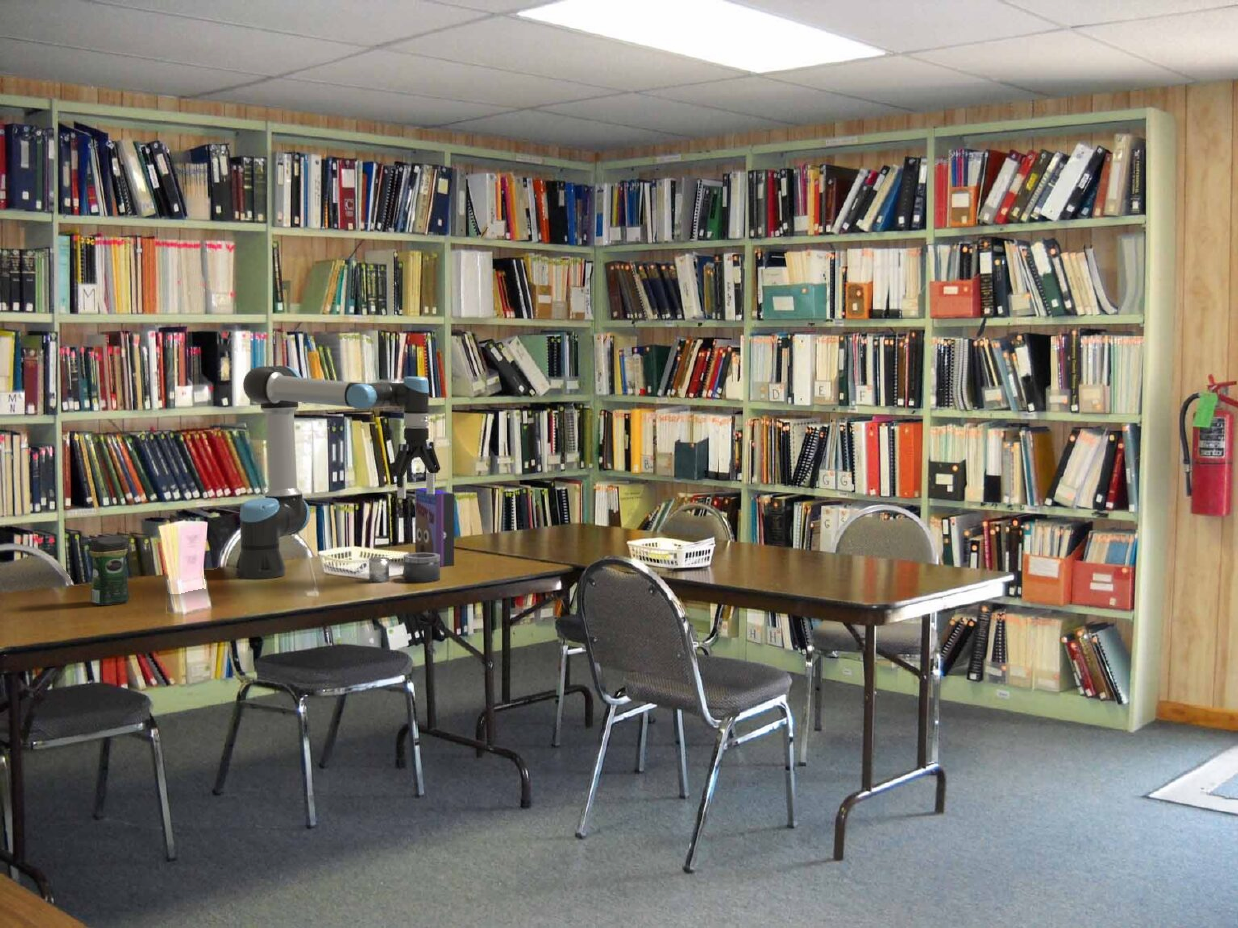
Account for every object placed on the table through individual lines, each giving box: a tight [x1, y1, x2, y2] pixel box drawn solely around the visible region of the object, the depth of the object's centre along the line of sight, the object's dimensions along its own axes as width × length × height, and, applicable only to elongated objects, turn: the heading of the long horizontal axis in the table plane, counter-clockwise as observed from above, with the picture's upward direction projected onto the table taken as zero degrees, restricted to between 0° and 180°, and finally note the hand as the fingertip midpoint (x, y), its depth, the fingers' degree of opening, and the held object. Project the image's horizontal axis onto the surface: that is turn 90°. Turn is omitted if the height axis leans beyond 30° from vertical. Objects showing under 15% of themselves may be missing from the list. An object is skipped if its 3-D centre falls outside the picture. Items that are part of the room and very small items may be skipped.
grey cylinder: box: [368, 556, 390, 584], centre depth 407 cm, size 6×6×7 cm
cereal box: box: [414, 487, 455, 568], centre depth 442 cm, size 17×5×24 cm, turn 37°
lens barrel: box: [403, 552, 441, 584], centre depth 411 cm, size 11×11×8 cm
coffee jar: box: [89, 535, 130, 606], centre depth 369 cm, size 10×8×19 cm
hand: (416, 496), depth 410 cm, fingers open, 13 cm apart
